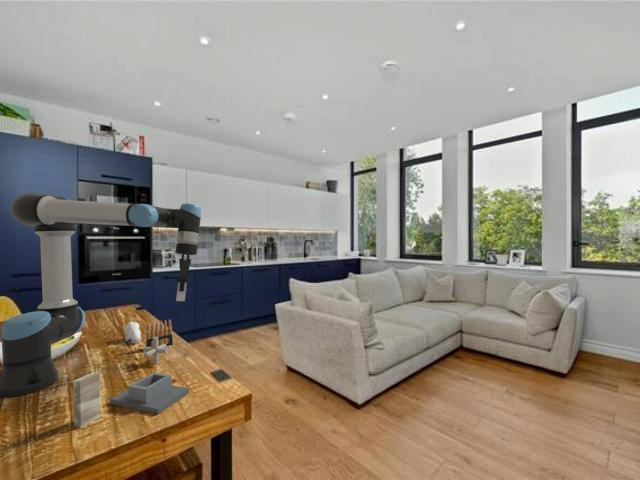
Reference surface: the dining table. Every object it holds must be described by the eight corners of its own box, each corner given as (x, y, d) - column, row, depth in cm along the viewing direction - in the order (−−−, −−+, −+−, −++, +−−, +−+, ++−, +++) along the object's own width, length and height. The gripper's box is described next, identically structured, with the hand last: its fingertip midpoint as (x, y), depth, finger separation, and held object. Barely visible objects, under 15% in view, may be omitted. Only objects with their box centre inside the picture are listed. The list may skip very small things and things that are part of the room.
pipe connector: (157, 369, 112) (157, 342, 112) (134, 367, 114) (134, 341, 114) (175, 358, 122) (175, 334, 122) (154, 356, 124) (153, 332, 124)
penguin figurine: (138, 319, 149) (145, 326, 140) (138, 336, 149) (144, 344, 141) (123, 321, 144) (129, 329, 136) (123, 339, 145) (129, 348, 136)
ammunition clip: (146, 351, 130) (146, 323, 130) (145, 350, 131) (145, 322, 131) (172, 345, 137) (172, 318, 137) (171, 344, 139) (171, 318, 139)
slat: (74, 426, 79) (73, 380, 79) (93, 415, 84) (92, 372, 84) (80, 428, 78) (80, 382, 78) (100, 417, 83) (99, 373, 83)
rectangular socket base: (110, 403, 90) (109, 385, 90) (144, 384, 101) (144, 368, 101) (158, 414, 84) (157, 394, 84) (189, 392, 96) (188, 375, 96)
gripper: (198, 240, 106) (192, 301, 102) (196, 248, 129) (191, 299, 125) (175, 238, 103) (167, 301, 100) (177, 247, 126) (171, 299, 122)
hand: (180, 300), depth 112 cm, fingers open, 13 cm apart
